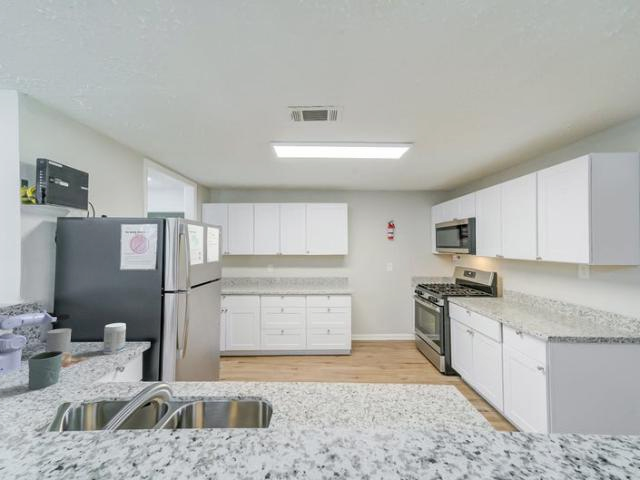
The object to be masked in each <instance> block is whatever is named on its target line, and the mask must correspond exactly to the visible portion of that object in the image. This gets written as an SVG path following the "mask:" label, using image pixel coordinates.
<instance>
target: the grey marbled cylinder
mask: <svg viewBox="0 0 640 480" xmlns="http://www.w3.org/2000/svg"><path fill="white" fill-rule="evenodd" d="M72 330H73V329H72V328H70V327H69V328H68V327H66V328H56V329H55V328H54V329H52V330H48V331H47V332H46V342H45V350H44V352H47V351H62V352H66V353H71V352H70V350H71V349H70V348H71V336H72Z"/></svg>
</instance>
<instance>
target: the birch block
mask: <svg viewBox="0 0 640 480" xmlns="http://www.w3.org/2000/svg"><path fill="white" fill-rule="evenodd" d="M71 356H72V352H69V353H66V352H63V357H62V361H61V366H62V365H65V364H68V363H71Z"/></svg>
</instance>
